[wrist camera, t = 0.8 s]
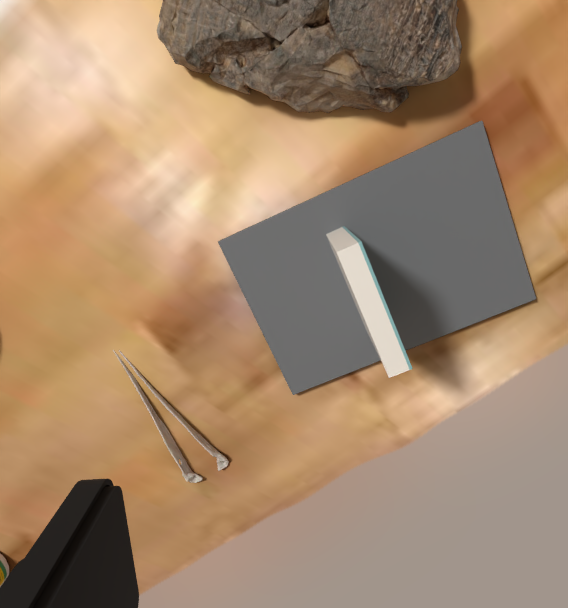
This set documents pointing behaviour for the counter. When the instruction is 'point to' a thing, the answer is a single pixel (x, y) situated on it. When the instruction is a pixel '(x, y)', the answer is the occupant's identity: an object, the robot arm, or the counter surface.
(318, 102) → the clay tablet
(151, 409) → the old metal nails
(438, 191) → the mat
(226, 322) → the counter surface
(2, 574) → the supplement bottle
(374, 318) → the tile
